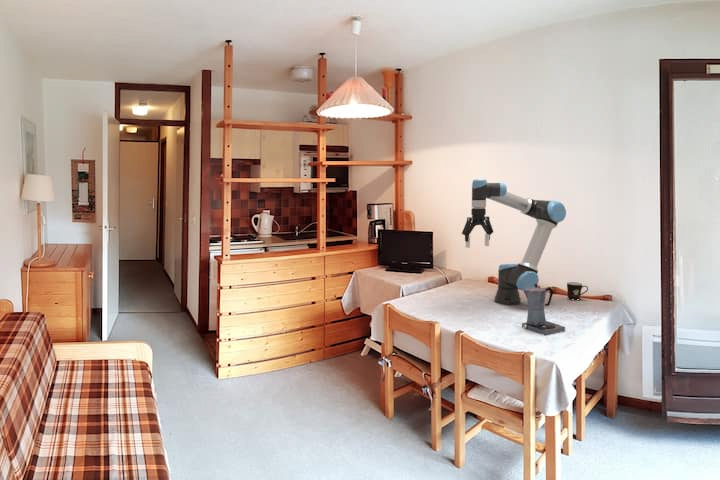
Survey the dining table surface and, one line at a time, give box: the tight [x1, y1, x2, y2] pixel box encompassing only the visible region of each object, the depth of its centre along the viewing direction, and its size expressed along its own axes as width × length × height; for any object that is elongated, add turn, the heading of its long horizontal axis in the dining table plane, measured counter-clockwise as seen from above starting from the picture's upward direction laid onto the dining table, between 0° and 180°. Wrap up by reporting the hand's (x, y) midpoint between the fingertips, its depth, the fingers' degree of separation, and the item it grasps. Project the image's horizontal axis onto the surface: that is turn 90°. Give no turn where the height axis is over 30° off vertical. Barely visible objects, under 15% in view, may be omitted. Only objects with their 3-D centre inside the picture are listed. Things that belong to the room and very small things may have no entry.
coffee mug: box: [566, 281, 589, 300], centre depth 285 cm, size 12×9×10 cm
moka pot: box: [522, 284, 554, 326], centre depth 229 cm, size 10×15×20 cm, turn 100°
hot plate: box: [521, 320, 566, 336], centre depth 228 cm, size 15×14×2 cm
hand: (477, 246), depth 255 cm, fingers open, 13 cm apart
